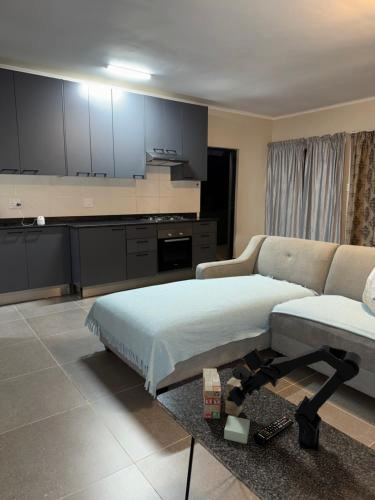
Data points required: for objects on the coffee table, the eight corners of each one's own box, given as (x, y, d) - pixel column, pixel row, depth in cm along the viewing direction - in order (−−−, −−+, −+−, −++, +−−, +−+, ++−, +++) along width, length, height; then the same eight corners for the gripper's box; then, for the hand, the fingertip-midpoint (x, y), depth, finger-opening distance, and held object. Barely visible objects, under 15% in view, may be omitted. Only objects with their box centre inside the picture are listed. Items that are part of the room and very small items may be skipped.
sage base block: (249, 429, 129) (249, 419, 128) (246, 444, 121) (247, 434, 120) (228, 424, 131) (228, 415, 130) (224, 439, 123) (224, 429, 123)
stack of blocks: (202, 387, 155) (203, 361, 152) (216, 387, 155) (217, 362, 152) (204, 418, 134) (205, 390, 131) (220, 419, 134) (221, 390, 131)
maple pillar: (242, 410, 139) (243, 381, 136) (236, 417, 135) (238, 387, 132) (231, 406, 142) (232, 377, 139) (225, 412, 137) (226, 382, 135)
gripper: (255, 351, 139) (229, 368, 147) (234, 371, 124) (207, 388, 132) (272, 375, 136) (245, 391, 144) (253, 399, 121) (224, 414, 129)
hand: (231, 395), depth 138 cm, fingers open, 6 cm apart
